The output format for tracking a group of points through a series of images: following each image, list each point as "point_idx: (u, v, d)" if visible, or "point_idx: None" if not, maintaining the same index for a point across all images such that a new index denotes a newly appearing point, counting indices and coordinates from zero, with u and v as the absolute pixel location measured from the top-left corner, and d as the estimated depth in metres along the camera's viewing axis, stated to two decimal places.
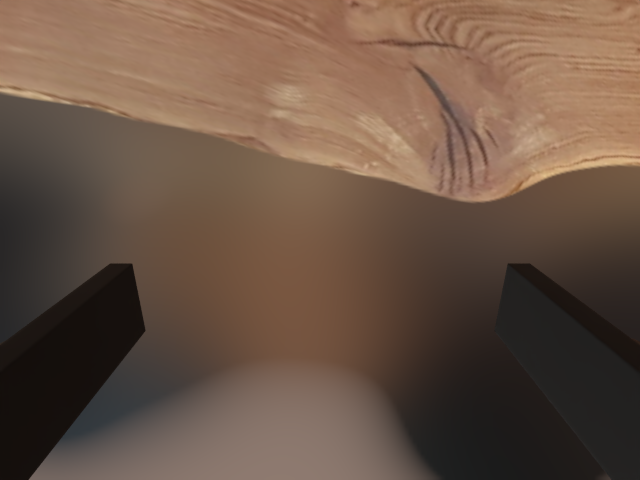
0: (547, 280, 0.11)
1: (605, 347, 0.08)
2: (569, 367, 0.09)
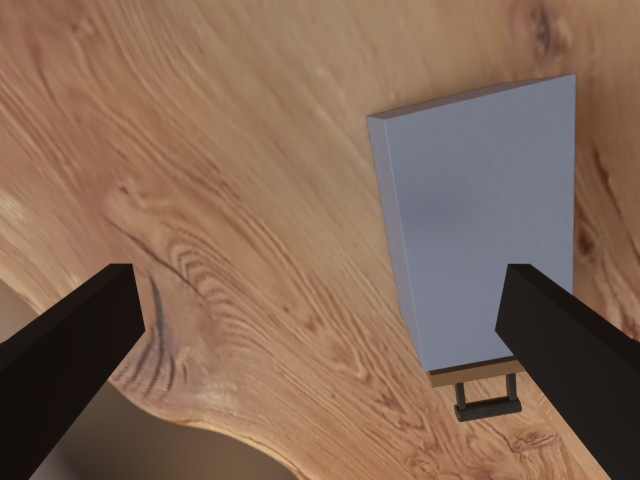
0: (547, 280, 0.11)
1: (605, 347, 0.08)
2: (569, 367, 0.09)
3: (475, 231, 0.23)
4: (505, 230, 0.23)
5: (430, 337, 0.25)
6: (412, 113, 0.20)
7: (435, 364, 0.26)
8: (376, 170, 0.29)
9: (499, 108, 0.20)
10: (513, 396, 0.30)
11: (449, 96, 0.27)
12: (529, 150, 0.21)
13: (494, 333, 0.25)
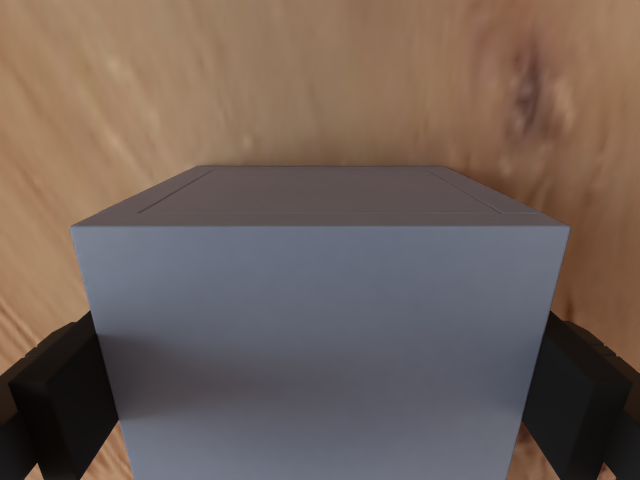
0: None
1: None
2: None
3: None
4: None
5: None
6: (147, 227, 0.08)
7: None
8: None
9: (371, 264, 0.08)
10: None
11: (344, 168, 0.15)
12: (430, 366, 0.09)
13: None
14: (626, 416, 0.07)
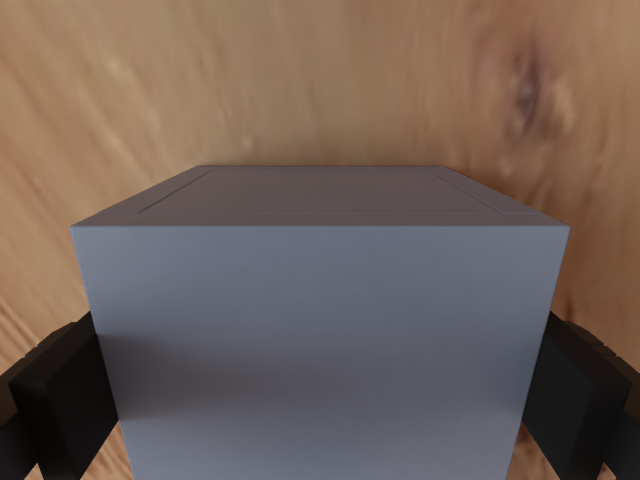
0: None
1: None
2: None
3: None
4: None
5: None
6: (147, 227, 0.08)
7: None
8: None
9: (371, 264, 0.08)
10: None
11: (344, 167, 0.15)
12: (430, 366, 0.09)
13: None
14: (627, 416, 0.07)
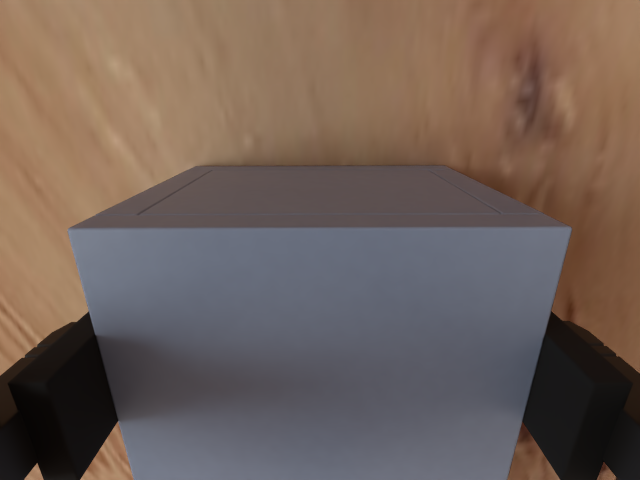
0: None
1: None
2: None
3: None
4: None
5: None
6: (145, 229, 0.08)
7: None
8: None
9: (371, 266, 0.08)
10: None
11: (344, 167, 0.15)
12: (430, 367, 0.09)
13: None
14: (626, 416, 0.07)
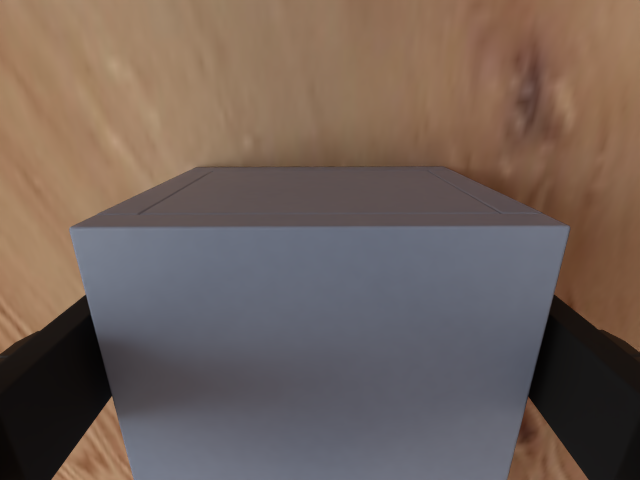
0: None
1: (571, 337, 0.08)
2: (541, 357, 0.10)
3: None
4: None
5: None
6: (147, 228, 0.08)
7: None
8: None
9: (371, 264, 0.08)
10: None
11: (344, 168, 0.15)
12: (430, 366, 0.09)
13: None
14: None
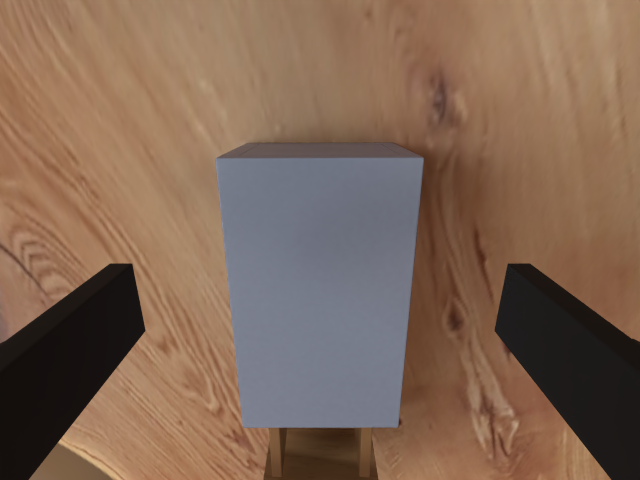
0: (547, 280, 0.11)
1: (605, 347, 0.08)
2: (569, 367, 0.09)
3: (306, 296, 0.21)
4: (338, 301, 0.21)
5: (251, 394, 0.23)
6: (247, 158, 0.18)
7: (255, 422, 0.24)
8: None
9: (341, 175, 0.18)
10: None
11: (334, 143, 0.25)
12: (369, 225, 0.19)
13: (319, 402, 0.24)
14: None
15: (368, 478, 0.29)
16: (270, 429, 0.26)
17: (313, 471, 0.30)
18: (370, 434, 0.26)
